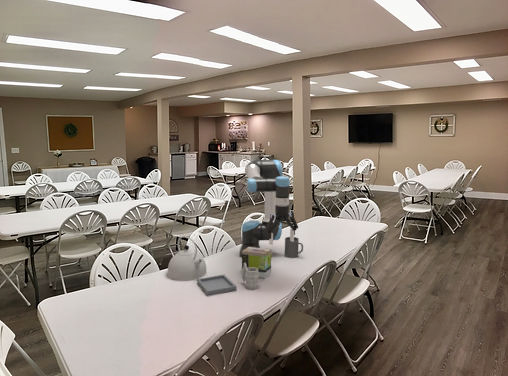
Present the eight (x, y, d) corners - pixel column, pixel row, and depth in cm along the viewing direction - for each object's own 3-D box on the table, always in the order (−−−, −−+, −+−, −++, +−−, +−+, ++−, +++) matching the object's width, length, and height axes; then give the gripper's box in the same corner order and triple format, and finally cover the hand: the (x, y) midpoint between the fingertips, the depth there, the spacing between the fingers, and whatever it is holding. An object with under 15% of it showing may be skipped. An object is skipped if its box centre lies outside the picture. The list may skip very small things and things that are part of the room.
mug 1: (252, 290, 202) (252, 269, 200) (237, 284, 210) (237, 263, 208) (262, 286, 207) (262, 265, 205) (247, 280, 215) (247, 260, 214)
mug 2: (282, 256, 258) (282, 238, 257) (289, 252, 265) (290, 236, 264) (299, 260, 250) (299, 242, 248) (306, 256, 257) (306, 239, 255)
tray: (197, 283, 211) (197, 279, 211) (224, 278, 218) (224, 274, 218) (207, 295, 195) (207, 291, 195) (236, 290, 202) (236, 286, 202)
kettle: (217, 274, 225) (216, 237, 222) (185, 285, 209) (184, 245, 205) (190, 264, 242) (190, 229, 239) (160, 273, 226) (158, 236, 222)
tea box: (271, 273, 227) (271, 249, 225) (264, 279, 218) (265, 254, 216) (248, 269, 233) (248, 245, 231) (241, 274, 224) (241, 250, 222)
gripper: (265, 208, 199) (265, 247, 202) (305, 204, 211) (304, 241, 214) (258, 205, 206) (258, 243, 209) (297, 202, 218) (296, 238, 221)
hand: (281, 242), depth 212 cm, fingers open, 13 cm apart
